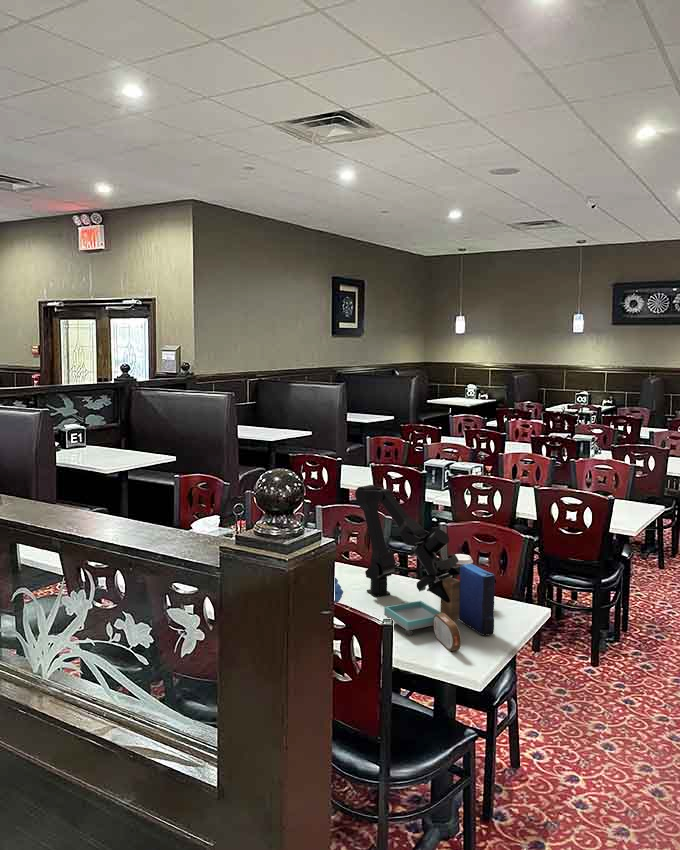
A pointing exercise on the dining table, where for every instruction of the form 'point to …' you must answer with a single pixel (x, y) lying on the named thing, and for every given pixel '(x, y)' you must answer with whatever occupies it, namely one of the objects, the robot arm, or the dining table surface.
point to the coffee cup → (463, 561)
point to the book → (477, 598)
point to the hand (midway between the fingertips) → (453, 600)
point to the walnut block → (451, 598)
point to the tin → (447, 632)
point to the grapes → (338, 591)
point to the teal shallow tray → (411, 615)
